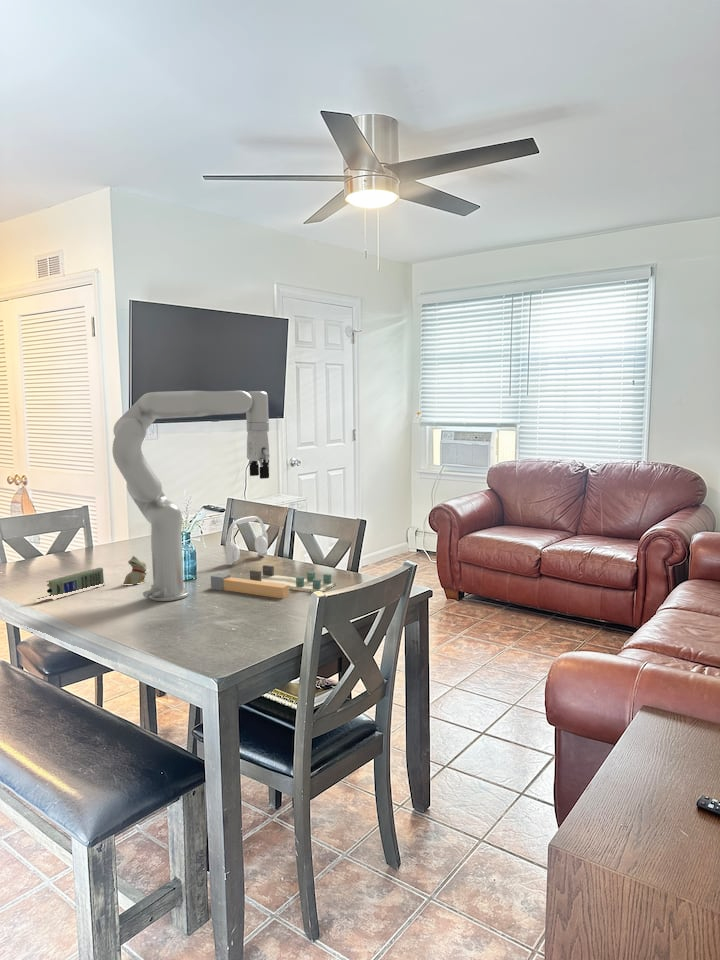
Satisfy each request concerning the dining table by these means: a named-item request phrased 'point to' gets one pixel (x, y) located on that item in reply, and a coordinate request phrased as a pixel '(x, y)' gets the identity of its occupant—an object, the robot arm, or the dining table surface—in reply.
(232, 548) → the headset
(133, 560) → the chocolate bunny
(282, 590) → the grey-capped wooden beam
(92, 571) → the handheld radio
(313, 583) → the clip holder
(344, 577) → the dining table surface
